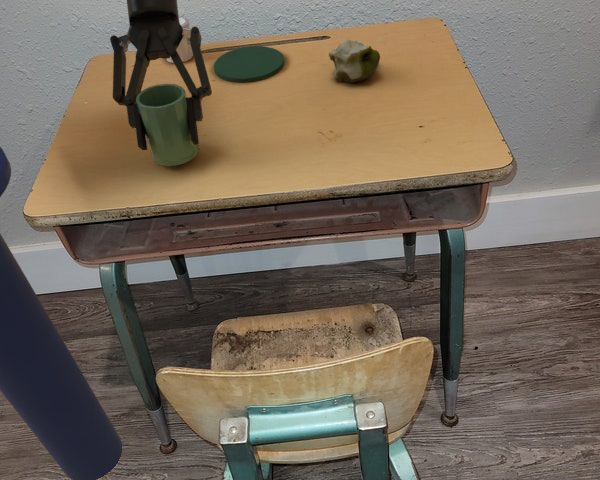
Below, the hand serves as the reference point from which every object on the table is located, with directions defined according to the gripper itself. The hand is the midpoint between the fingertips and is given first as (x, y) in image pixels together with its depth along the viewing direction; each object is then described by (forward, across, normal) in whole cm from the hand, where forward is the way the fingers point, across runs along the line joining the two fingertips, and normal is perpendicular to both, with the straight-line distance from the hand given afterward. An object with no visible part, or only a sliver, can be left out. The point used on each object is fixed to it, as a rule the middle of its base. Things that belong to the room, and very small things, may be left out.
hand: (169, 145), depth 92 cm
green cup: (0, 0, -5) cm, 5 cm away
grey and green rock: (-14, -32, -20) cm, 41 cm away
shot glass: (-26, +2, -33) cm, 42 cm away
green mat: (-21, -13, -28) cm, 37 cm away
